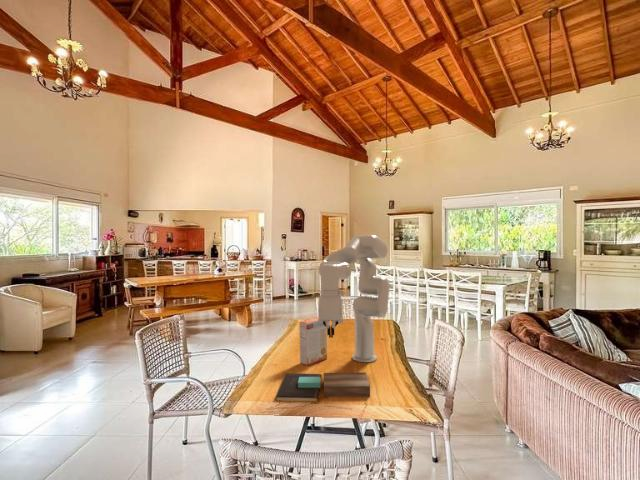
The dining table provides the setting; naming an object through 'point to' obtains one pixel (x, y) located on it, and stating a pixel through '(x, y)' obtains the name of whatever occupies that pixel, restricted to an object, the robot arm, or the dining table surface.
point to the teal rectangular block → (309, 382)
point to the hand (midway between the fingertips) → (330, 336)
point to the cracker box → (312, 341)
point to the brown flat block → (346, 384)
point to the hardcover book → (296, 389)
